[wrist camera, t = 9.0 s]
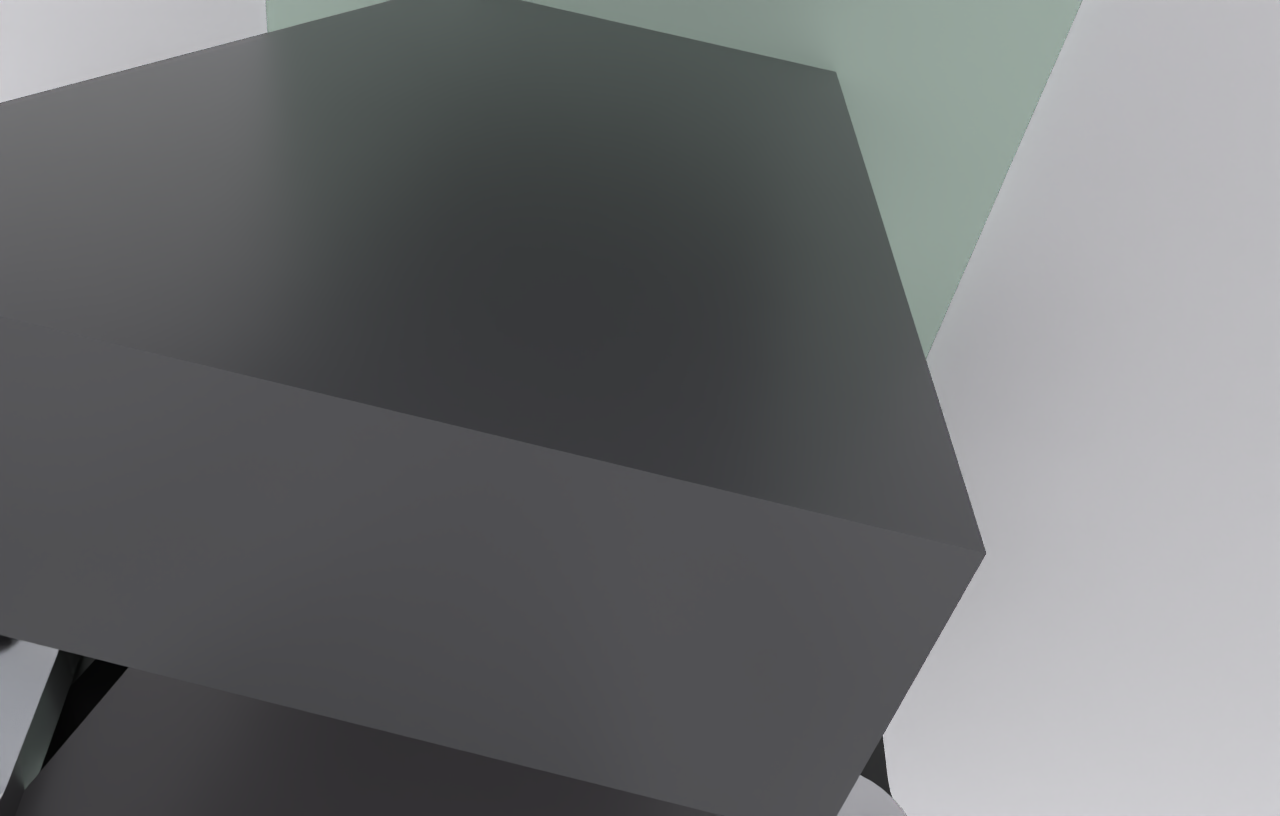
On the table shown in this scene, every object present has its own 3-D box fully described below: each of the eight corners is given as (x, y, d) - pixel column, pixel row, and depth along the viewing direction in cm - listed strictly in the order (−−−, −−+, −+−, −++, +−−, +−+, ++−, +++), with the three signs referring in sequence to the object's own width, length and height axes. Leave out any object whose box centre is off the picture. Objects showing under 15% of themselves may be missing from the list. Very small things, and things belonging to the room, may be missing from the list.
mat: (1445, -873, 6) (1482, -917, 6) (703, 855, 21) (702, 871, 20) (224, -1115, 7) (196, -1165, 6) (319, 759, 21) (311, 773, 20)
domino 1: (836, 71, 10) (986, 554, 3) (794, 208, 11) (823, 840, 4) (451, -16, 10) (-423, 216, 3) (444, 127, 11) (-223, 579, 4)
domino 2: (750, 373, 13) (704, 1070, 5) (723, 464, 14) (651, 1160, 6) (439, 300, 13) (-48, 877, 5) (434, 396, 14) (16, 996, 6)
